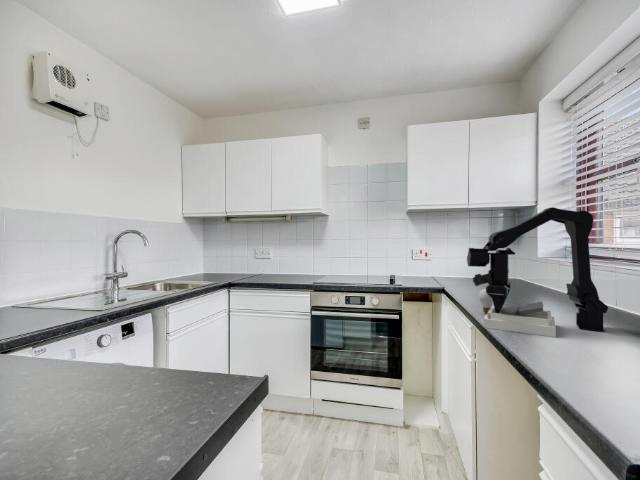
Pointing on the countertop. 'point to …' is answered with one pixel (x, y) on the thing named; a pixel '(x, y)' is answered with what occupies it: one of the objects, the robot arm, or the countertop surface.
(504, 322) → the breaker box
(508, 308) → the panel
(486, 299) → the light bulb
